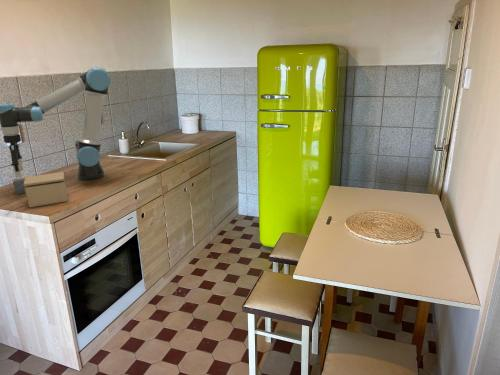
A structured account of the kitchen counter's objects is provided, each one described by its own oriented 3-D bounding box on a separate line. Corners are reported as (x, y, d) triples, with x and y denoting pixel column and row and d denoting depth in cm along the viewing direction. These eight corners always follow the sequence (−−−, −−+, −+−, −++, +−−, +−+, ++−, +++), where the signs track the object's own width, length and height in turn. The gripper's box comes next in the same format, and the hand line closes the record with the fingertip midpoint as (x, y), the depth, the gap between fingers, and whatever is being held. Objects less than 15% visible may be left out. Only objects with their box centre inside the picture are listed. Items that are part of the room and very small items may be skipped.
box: (66, 191, 201) (63, 174, 198) (68, 201, 188) (64, 182, 185) (30, 197, 194) (26, 179, 191) (29, 207, 181) (24, 187, 177)
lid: (63, 173, 198) (63, 171, 198) (64, 180, 184) (64, 178, 184) (26, 178, 191) (25, 176, 191) (23, 186, 177) (23, 184, 176)
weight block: (33, 189, 208) (30, 177, 205) (32, 191, 203) (30, 179, 201) (16, 191, 204) (13, 179, 202) (15, 194, 200) (12, 181, 198)
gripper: (5, 131, 203) (13, 169, 209) (0, 139, 182) (9, 181, 188) (21, 130, 206) (28, 167, 213) (18, 137, 185) (26, 178, 191)
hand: (19, 174), depth 200 cm, fingers open, 13 cm apart
